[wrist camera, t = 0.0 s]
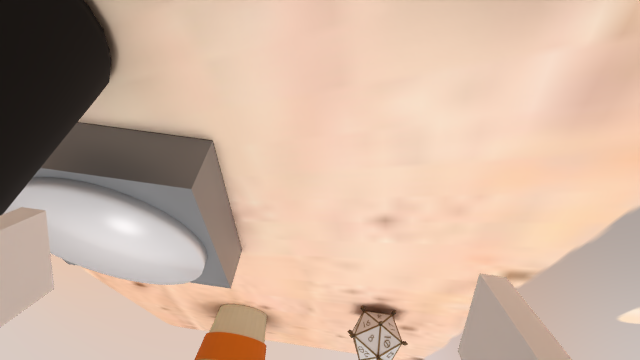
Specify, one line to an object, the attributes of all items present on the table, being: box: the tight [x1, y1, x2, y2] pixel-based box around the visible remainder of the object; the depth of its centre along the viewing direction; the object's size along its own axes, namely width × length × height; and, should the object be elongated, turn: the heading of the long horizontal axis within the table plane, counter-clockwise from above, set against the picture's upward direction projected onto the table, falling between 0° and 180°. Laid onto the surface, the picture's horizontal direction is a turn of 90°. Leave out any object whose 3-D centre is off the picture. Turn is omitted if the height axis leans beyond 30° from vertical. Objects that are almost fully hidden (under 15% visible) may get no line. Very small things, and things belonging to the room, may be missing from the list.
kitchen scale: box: [4, 123, 242, 288], centre depth 36 cm, size 20×21×6 cm
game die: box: [347, 306, 408, 360], centre depth 54 cm, size 9×8×10 cm
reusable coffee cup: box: [195, 304, 267, 360], centre depth 62 cm, size 13×13×15 cm
